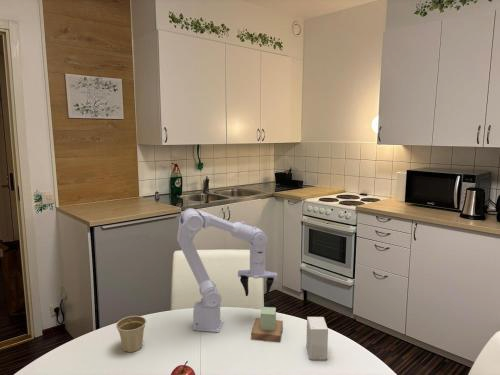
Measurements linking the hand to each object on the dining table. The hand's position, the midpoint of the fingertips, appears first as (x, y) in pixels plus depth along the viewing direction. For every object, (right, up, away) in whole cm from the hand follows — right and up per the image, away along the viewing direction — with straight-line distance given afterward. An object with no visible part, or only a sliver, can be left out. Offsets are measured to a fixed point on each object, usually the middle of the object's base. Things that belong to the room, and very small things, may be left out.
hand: (257, 295), depth 141 cm
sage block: (+4, -8, -8) cm, 13 cm away
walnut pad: (+3, -11, -8) cm, 14 cm away
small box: (+19, -13, -19) cm, 30 cm away
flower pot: (-42, -12, -17) cm, 46 cm away
